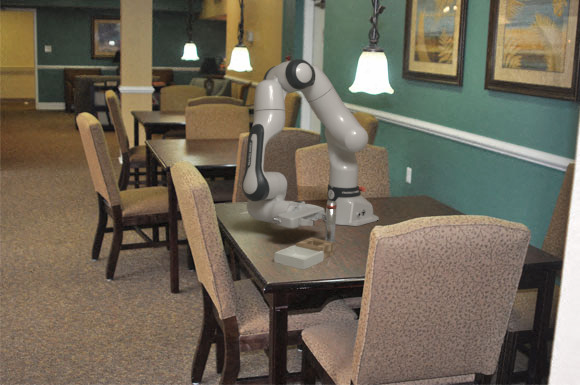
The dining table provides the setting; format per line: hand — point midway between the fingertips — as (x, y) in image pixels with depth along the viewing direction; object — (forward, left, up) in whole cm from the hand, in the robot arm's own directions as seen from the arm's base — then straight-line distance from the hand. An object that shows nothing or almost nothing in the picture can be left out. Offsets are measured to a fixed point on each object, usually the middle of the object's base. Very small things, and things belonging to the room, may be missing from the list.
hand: (321, 220), depth 220 cm
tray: (+16, +10, -9) cm, 20 cm away
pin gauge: (-1, +3, -9) cm, 10 cm away
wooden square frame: (+7, +7, -9) cm, 13 cm away
